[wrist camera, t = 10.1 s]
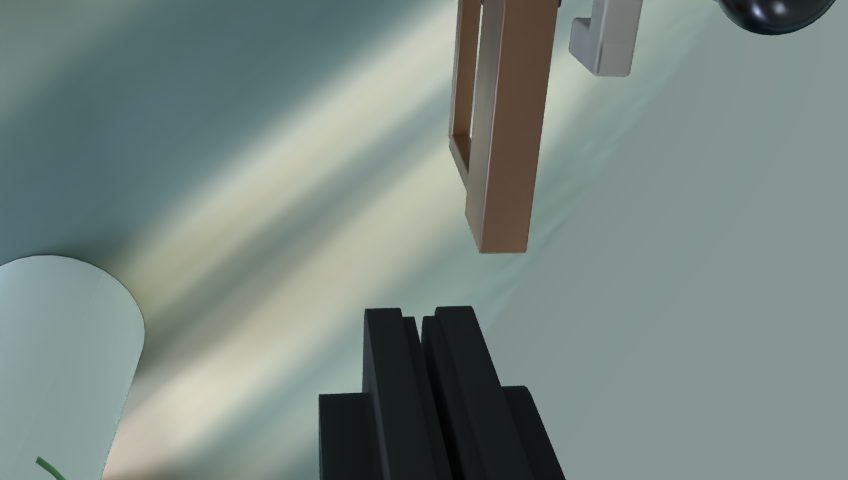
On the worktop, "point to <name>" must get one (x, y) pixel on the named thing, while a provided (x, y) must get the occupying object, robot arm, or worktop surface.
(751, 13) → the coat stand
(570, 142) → the worktop surface
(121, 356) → the cylindrical container
